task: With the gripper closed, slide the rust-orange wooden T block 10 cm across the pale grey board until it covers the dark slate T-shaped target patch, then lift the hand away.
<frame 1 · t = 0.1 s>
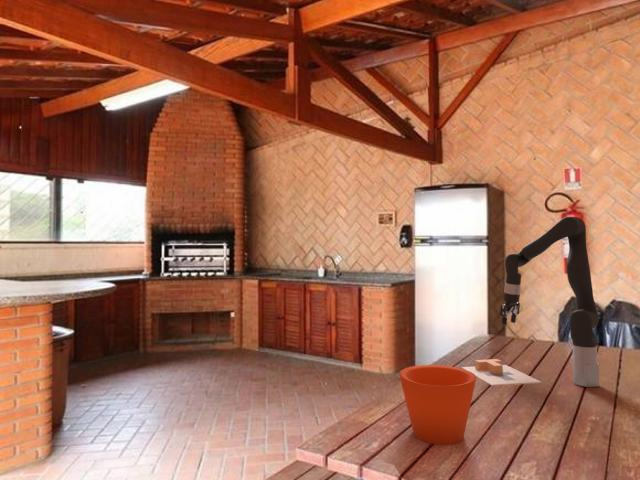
hand: (508, 323, 231), 22 cm above the table, tool pointing down, fingers open, 8 cm apart
flowerpot: (438, 435, 150), on the table
t block: (492, 370, 223), point 1 cm above the table, touching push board
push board: (498, 375, 217), on the table
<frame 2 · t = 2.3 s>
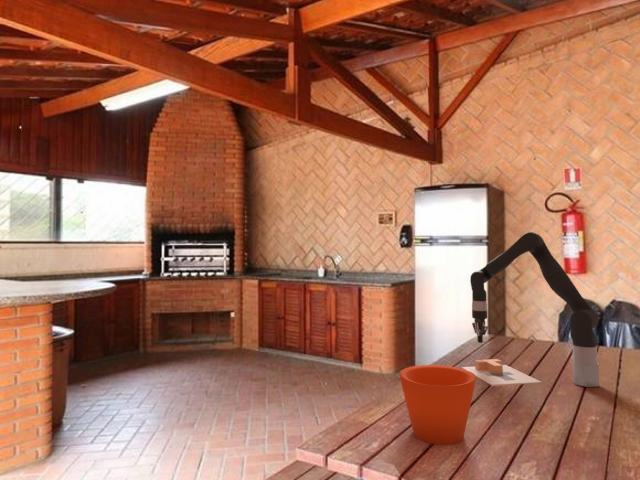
hand: (480, 342, 235), 12 cm above the table, tool pointing down, fingers closed
nothing on the table moved.
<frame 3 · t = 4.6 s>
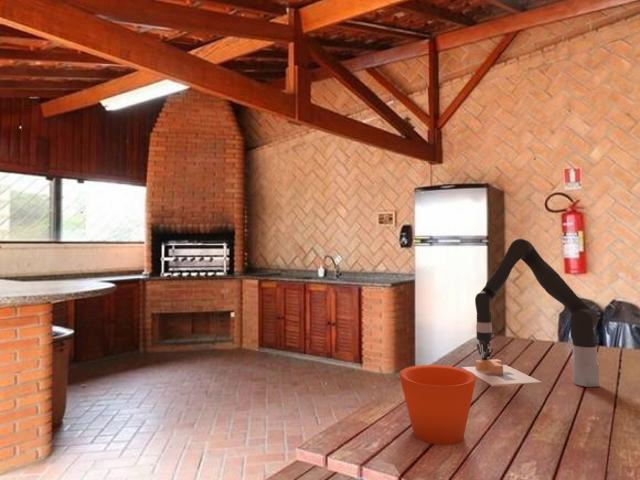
hand: (484, 364, 231), 2 cm above the table, tool pointing down, fingers closed
t block: (492, 370, 223), point 1 cm above the table, touching gripper
everything else where it was.
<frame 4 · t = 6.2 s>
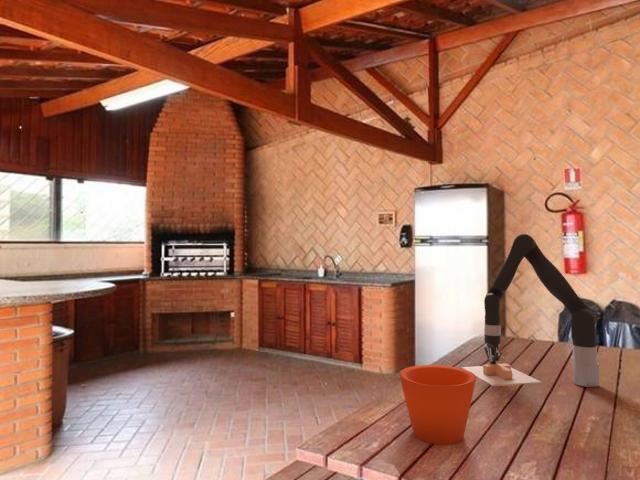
hand: (493, 368, 222), 2 cm above the table, tool pointing down, fingers closed
t block: (501, 375, 214), point 1 cm above the table, touching gripper
everything else where it was.
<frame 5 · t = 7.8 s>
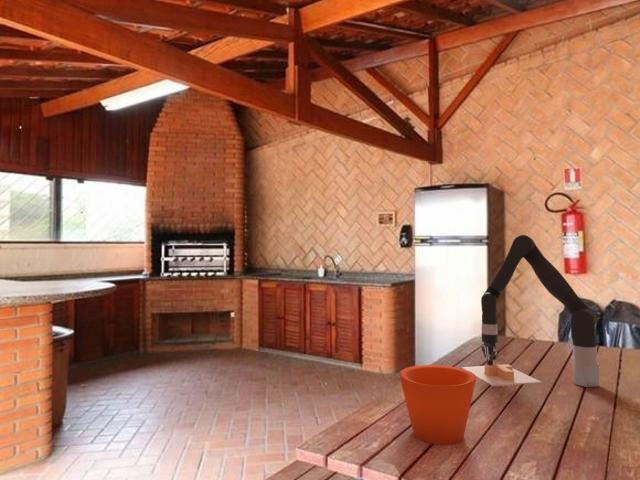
hand: (490, 367, 224), 2 cm above the table, tool pointing down, fingers closed
t block: (503, 376, 213), point 1 cm above the table, touching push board
everything else where it was.
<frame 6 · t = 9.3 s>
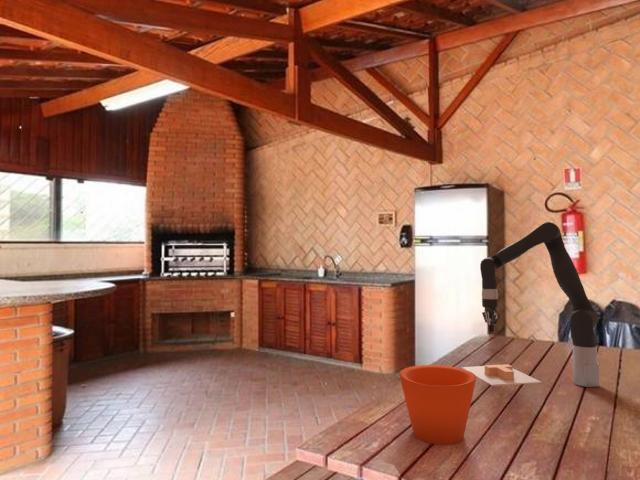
hand: (491, 332, 226), 19 cm above the table, tool pointing down, fingers closed
nothing on the table moved.
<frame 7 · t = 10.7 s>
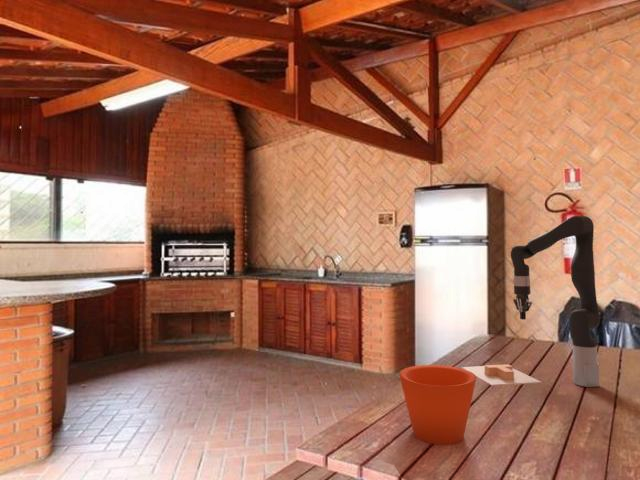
hand: (522, 319, 228), 25 cm above the table, tool pointing down, fingers closed
nothing on the table moved.
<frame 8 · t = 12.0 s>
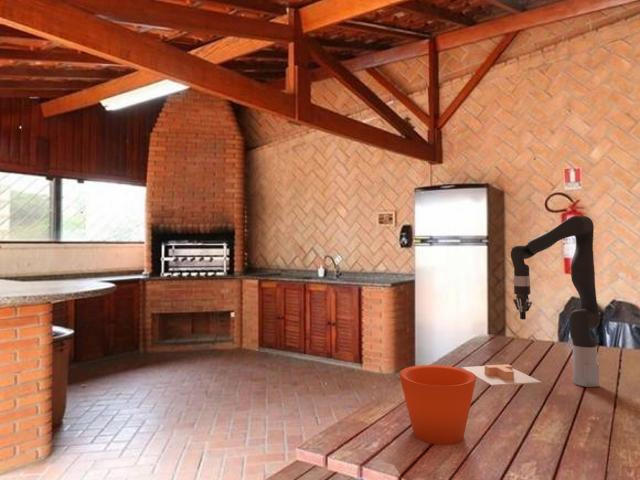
hand: (522, 319, 228), 25 cm above the table, tool pointing down, fingers closed
nothing on the table moved.
at the end: t block 0.6 cm from the target spot, point 0.6 cm above the table; t block tilted 0°; t block moved 10.5 cm from its start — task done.
